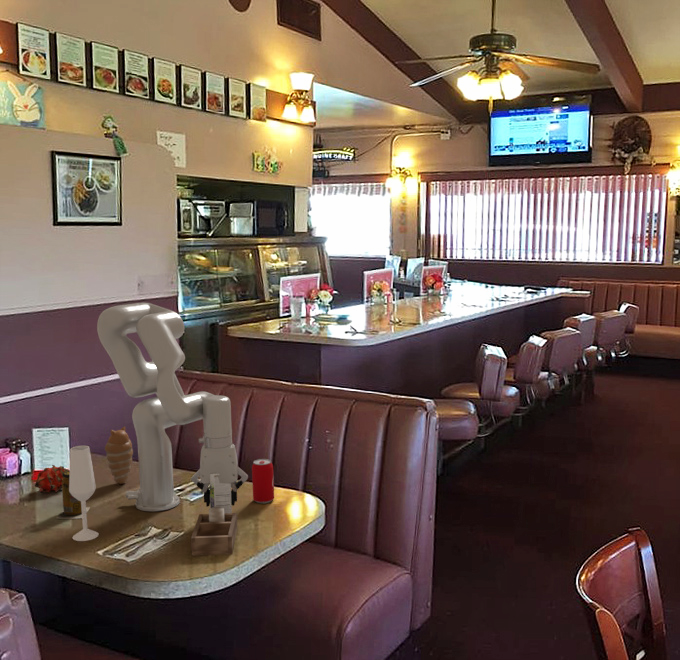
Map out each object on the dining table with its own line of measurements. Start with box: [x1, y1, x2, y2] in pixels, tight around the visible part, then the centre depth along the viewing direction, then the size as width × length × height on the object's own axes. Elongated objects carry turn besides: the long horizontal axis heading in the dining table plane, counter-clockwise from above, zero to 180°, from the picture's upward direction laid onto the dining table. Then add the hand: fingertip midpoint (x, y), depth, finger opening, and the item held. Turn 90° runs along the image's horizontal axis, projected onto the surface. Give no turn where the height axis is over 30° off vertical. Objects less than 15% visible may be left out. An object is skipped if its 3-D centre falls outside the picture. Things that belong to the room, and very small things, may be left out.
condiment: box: [55, 469, 91, 520], centre depth 225 cm, size 7×8×12 cm
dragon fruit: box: [34, 464, 69, 494], centre depth 245 cm, size 8×8×12 cm
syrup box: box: [209, 473, 233, 513], centre depth 218 cm, size 6×6×14 cm
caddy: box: [190, 507, 239, 556], centre depth 203 cm, size 10×16×7 cm, turn 3°
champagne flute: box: [69, 445, 99, 542], centre depth 207 cm, size 7×7×24 cm
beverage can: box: [251, 458, 275, 504], centre depth 232 cm, size 6×6×12 cm
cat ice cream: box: [104, 426, 134, 485], centre depth 249 cm, size 9×8×18 cm
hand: (220, 503), depth 218 cm, fingers closed on syrup box, 6 cm apart
